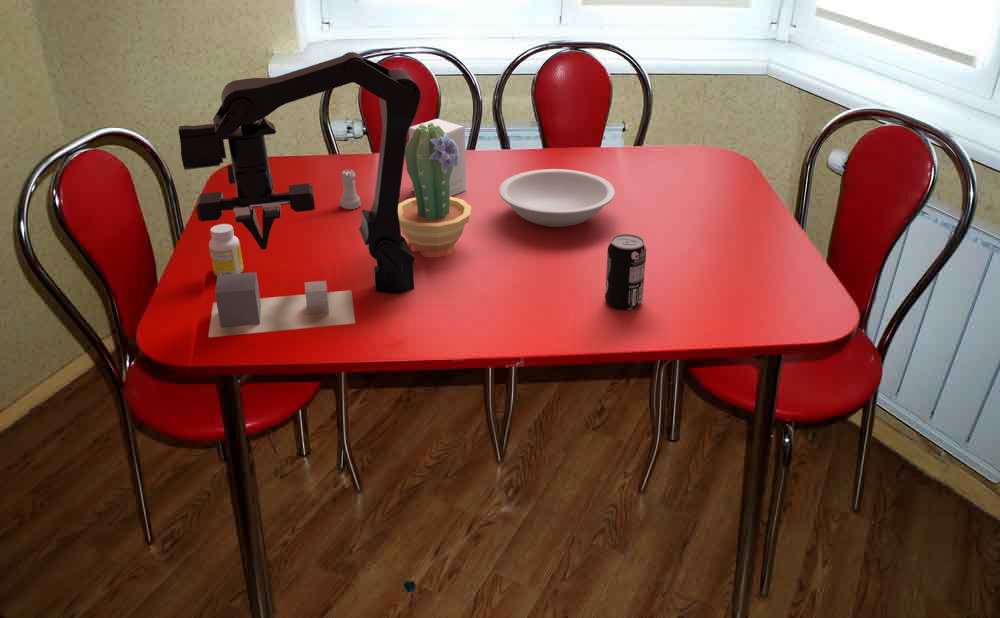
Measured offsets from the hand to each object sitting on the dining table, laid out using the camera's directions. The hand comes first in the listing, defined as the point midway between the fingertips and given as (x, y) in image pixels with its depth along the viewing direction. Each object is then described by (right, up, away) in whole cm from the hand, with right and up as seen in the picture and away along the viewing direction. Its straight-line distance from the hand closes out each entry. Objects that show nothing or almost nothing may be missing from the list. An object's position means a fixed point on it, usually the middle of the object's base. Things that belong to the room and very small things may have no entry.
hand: (263, 248), depth 163 cm
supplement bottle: (-10, -4, +17) cm, 20 cm away
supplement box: (+26, +16, +53) cm, 61 cm away
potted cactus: (+27, +2, +27) cm, 38 cm away
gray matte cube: (-4, -12, +1) cm, 12 cm away
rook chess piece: (+8, +12, +45) cm, 48 cm away
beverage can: (+62, -9, +7) cm, 63 cm away
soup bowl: (+52, +9, +39) cm, 66 cm away
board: (+3, -12, +3) cm, 12 cm away
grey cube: (+9, -11, +4) cm, 15 cm away
